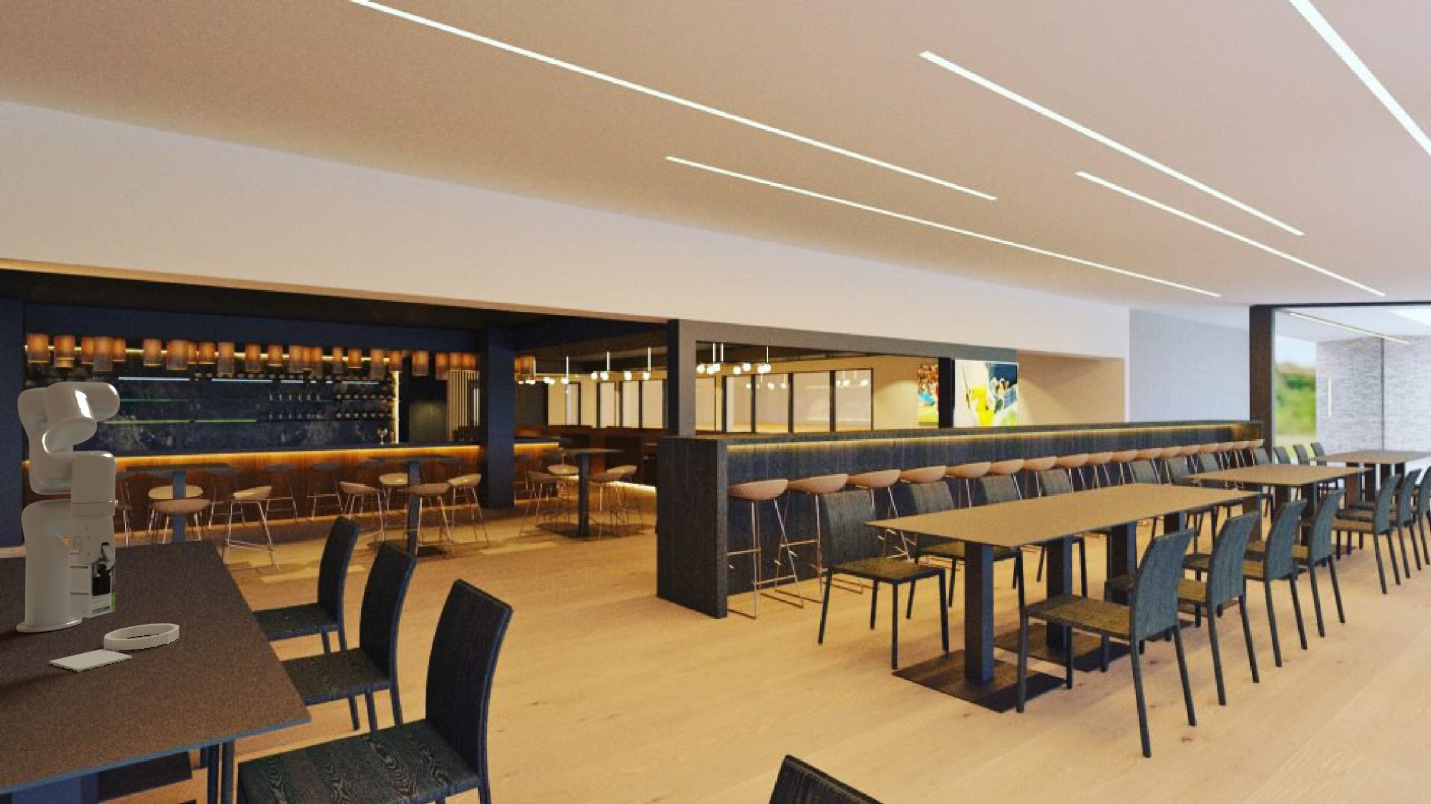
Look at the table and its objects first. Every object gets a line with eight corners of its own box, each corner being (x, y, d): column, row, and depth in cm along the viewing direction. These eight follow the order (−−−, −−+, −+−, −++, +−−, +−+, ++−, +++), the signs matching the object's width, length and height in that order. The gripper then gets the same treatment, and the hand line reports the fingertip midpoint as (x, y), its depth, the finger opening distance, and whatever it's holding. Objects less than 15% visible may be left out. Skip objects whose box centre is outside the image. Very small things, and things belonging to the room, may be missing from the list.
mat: (49, 663, 168) (49, 661, 168) (103, 651, 177) (103, 648, 177) (78, 672, 163) (78, 669, 163) (132, 659, 172) (132, 656, 172)
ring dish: (91, 646, 181) (92, 635, 181) (158, 631, 194) (158, 621, 194) (125, 654, 175) (125, 643, 175) (191, 638, 187) (191, 628, 187)
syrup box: (90, 618, 167) (91, 549, 167) (67, 617, 168) (68, 548, 168) (115, 611, 172) (116, 545, 173) (93, 610, 174) (94, 544, 174)
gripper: (52, 509, 171) (51, 592, 171) (94, 514, 163) (93, 600, 163) (92, 506, 178) (91, 586, 178) (134, 510, 170) (133, 593, 170)
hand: (92, 592), depth 170 cm, fingers closed on syrup box, 6 cm apart
